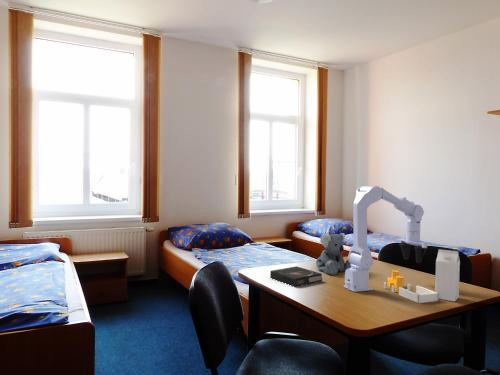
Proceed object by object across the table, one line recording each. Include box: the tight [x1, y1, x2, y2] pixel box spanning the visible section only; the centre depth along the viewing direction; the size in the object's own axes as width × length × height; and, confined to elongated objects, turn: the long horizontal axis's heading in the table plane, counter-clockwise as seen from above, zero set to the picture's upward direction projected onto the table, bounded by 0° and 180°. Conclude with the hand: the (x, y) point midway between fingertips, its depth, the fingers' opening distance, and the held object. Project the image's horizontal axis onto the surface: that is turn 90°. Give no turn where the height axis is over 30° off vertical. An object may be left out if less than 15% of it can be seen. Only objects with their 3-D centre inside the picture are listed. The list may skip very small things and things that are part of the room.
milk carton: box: [434, 248, 461, 302], centre depth 151 cm, size 7×7×19 cm
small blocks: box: [383, 281, 388, 289], centre depth 164 cm, size 9×1×2 cm, turn 110°
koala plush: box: [315, 232, 351, 276], centre depth 193 cm, size 17×18×20 cm
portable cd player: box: [269, 266, 323, 288], centre depth 174 cm, size 16×17×4 cm
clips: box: [391, 283, 412, 293], centre depth 160 cm, size 9×1×2 cm, turn 110°
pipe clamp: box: [386, 270, 404, 294], centre depth 163 cm, size 12×4×6 cm, turn 169°
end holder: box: [398, 285, 439, 304], centre depth 151 cm, size 10×11×3 cm
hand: (412, 261), depth 171 cm, fingers open, 7 cm apart
